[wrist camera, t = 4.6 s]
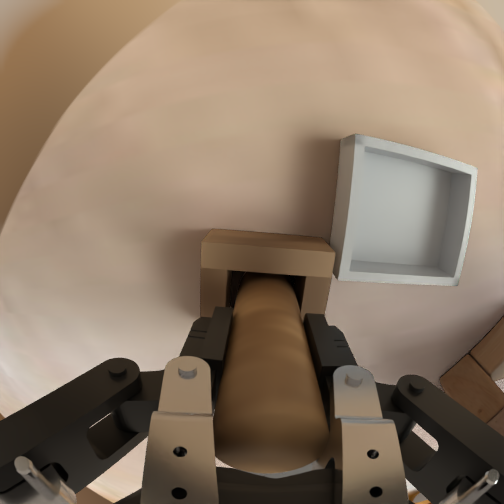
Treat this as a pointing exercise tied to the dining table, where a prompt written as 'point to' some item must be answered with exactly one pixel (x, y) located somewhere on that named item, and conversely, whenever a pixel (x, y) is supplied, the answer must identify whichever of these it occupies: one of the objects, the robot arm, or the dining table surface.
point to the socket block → (265, 266)
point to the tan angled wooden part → (480, 379)
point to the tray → (400, 214)
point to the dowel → (268, 383)
